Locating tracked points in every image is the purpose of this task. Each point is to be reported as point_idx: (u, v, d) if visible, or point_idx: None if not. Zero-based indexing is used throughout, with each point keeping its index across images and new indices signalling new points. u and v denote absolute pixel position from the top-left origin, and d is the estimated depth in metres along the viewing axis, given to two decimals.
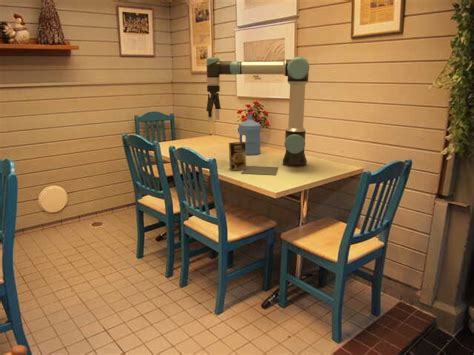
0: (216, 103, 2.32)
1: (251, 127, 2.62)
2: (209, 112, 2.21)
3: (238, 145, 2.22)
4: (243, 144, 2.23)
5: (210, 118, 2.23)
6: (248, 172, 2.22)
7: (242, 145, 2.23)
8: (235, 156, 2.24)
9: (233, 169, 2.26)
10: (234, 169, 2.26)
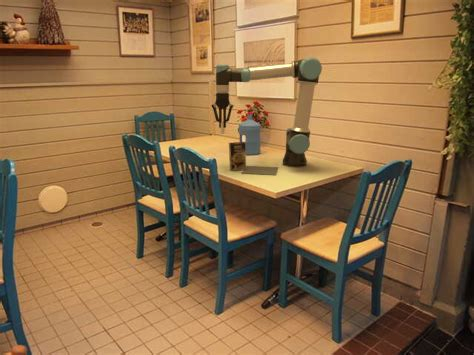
0: None
1: (251, 127, 2.62)
2: None
3: (238, 145, 2.22)
4: (243, 144, 2.23)
5: None
6: (248, 172, 2.22)
7: (242, 145, 2.23)
8: (235, 156, 2.24)
9: (233, 169, 2.26)
10: (234, 169, 2.26)
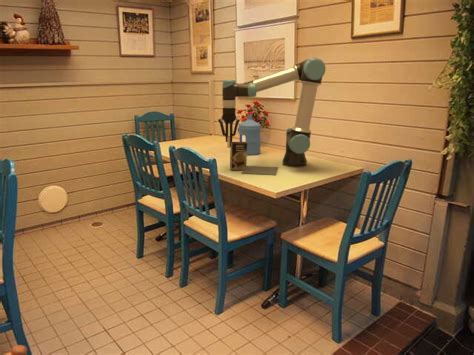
0: (230, 128, 2.23)
1: (251, 127, 2.62)
2: None
3: (240, 145, 2.22)
4: (245, 144, 2.23)
5: None
6: (248, 172, 2.22)
7: (244, 145, 2.23)
8: (237, 155, 2.24)
9: (233, 168, 2.25)
10: (234, 168, 2.26)
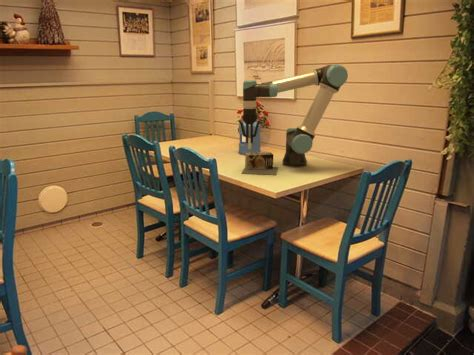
0: None
1: None
2: (246, 138, 2.23)
3: (271, 162, 2.28)
4: (272, 167, 2.29)
5: (248, 144, 2.24)
6: (248, 172, 2.22)
7: (271, 166, 2.29)
8: (261, 159, 2.27)
9: (248, 157, 2.25)
10: (248, 158, 2.25)
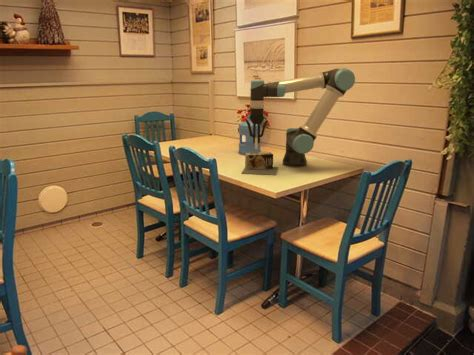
0: None
1: (251, 127, 2.62)
2: (253, 138, 2.23)
3: (271, 162, 2.28)
4: (271, 166, 2.29)
5: (255, 144, 2.23)
6: (248, 172, 2.22)
7: (271, 165, 2.29)
8: (261, 159, 2.27)
9: (248, 157, 2.25)
10: (248, 158, 2.26)
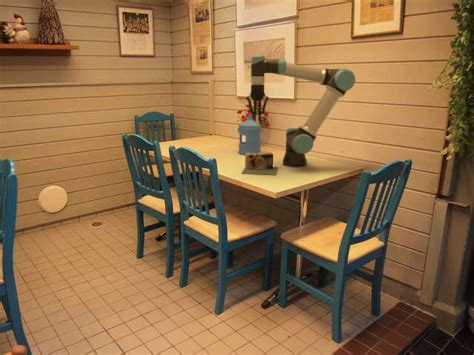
0: None
1: (251, 127, 2.62)
2: (254, 115, 2.19)
3: (271, 162, 2.28)
4: (271, 166, 2.29)
5: (256, 122, 2.20)
6: (248, 172, 2.22)
7: (271, 165, 2.29)
8: (261, 159, 2.27)
9: (248, 157, 2.25)
10: (248, 158, 2.26)
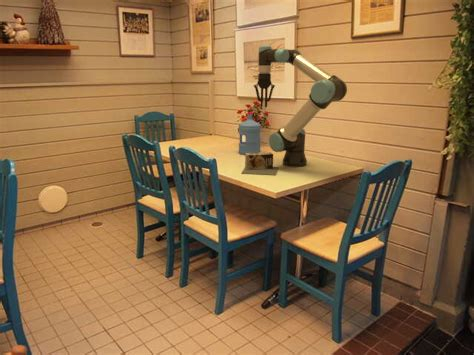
0: (265, 93, 2.32)
1: (251, 127, 2.62)
2: None
3: (271, 162, 2.28)
4: (271, 166, 2.29)
5: None
6: (248, 172, 2.22)
7: (271, 165, 2.29)
8: (261, 159, 2.27)
9: (248, 157, 2.25)
10: (248, 158, 2.26)
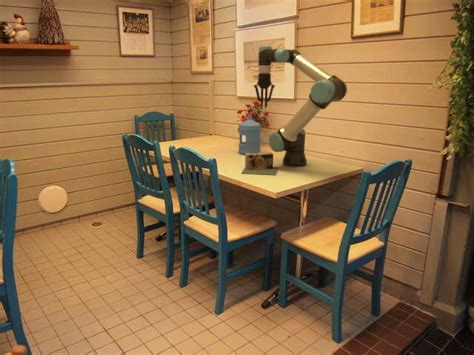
0: (265, 93, 2.32)
1: (251, 127, 2.62)
2: None
3: (271, 162, 2.28)
4: (271, 166, 2.29)
5: None
6: (248, 172, 2.22)
7: (271, 165, 2.29)
8: (261, 159, 2.27)
9: (248, 157, 2.25)
10: (248, 158, 2.26)
